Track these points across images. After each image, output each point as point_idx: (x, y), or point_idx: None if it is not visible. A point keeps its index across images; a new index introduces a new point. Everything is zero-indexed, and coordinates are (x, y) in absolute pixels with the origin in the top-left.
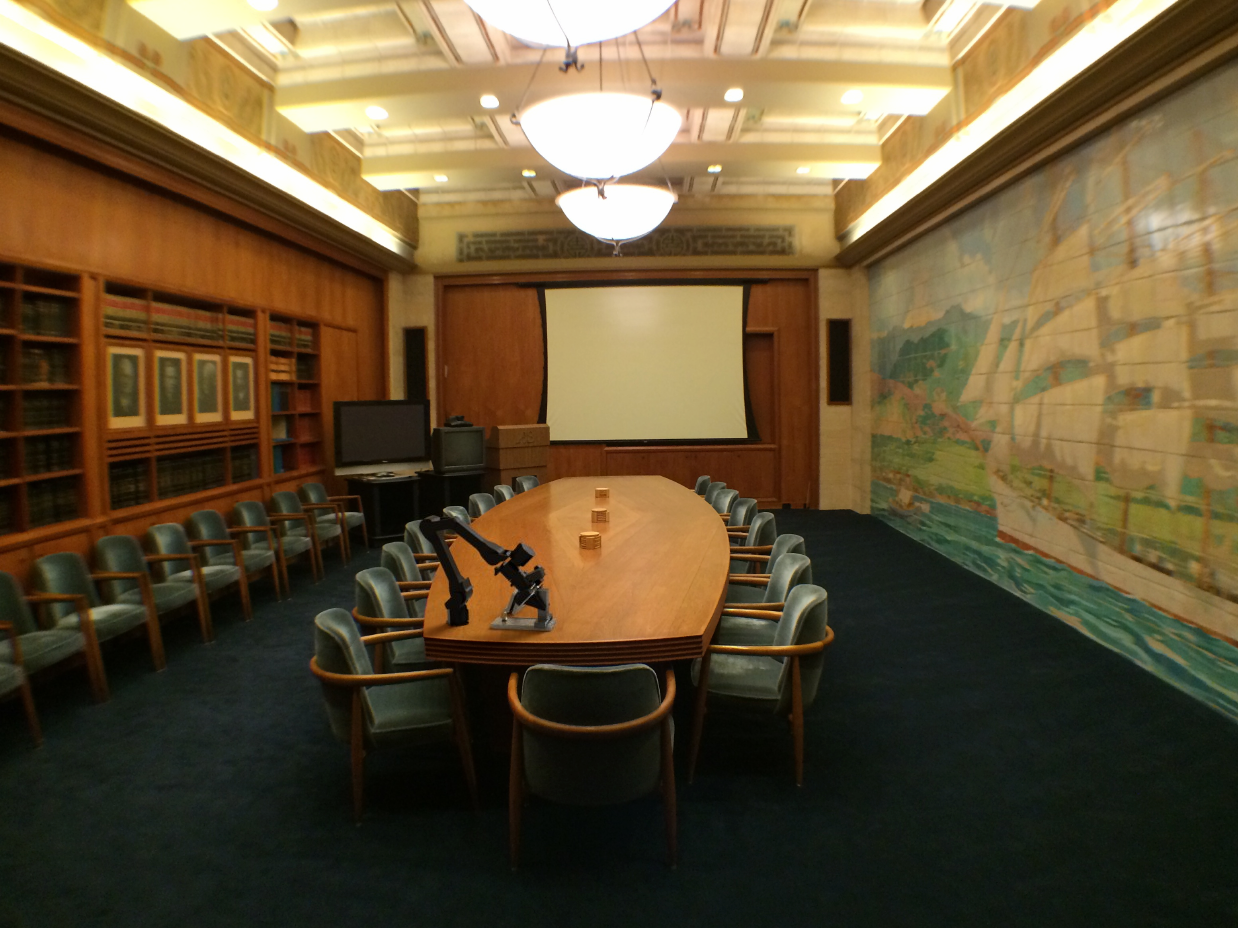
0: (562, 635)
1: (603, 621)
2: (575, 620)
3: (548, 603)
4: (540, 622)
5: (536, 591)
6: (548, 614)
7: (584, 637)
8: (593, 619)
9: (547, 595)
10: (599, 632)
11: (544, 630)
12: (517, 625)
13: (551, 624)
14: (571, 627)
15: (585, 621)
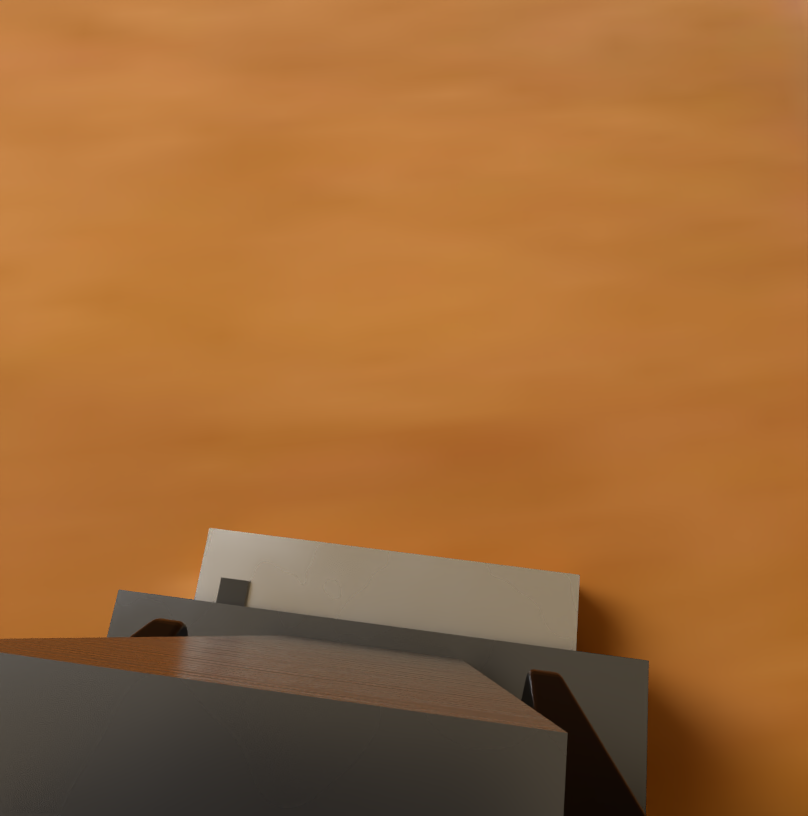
0: (734, 400)
1: (229, 8)
2: (154, 294)
3: (251, 641)
4: (625, 769)
5: None
6: (326, 641)
7: (766, 149)
8: (146, 104)
9: (304, 665)
10: (587, 23)
11: None
12: None
13: (484, 574)
14: (423, 318)
15: (207, 180)
